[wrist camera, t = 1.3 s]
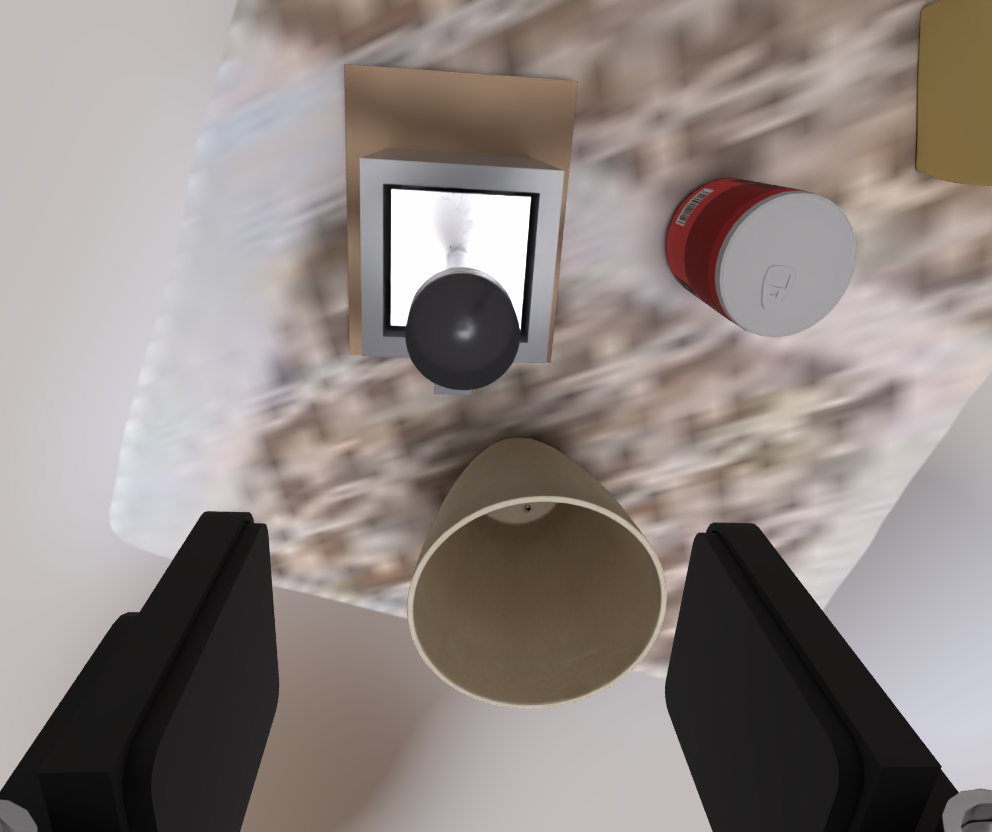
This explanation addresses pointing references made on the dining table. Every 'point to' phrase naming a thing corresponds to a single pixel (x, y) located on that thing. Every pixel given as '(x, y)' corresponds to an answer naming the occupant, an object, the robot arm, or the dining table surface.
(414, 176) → the grey boxy piece
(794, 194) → the canned food
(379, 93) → the board
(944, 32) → the cheese
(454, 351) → the plunger
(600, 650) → the plant pot
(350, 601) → the dining table surface
